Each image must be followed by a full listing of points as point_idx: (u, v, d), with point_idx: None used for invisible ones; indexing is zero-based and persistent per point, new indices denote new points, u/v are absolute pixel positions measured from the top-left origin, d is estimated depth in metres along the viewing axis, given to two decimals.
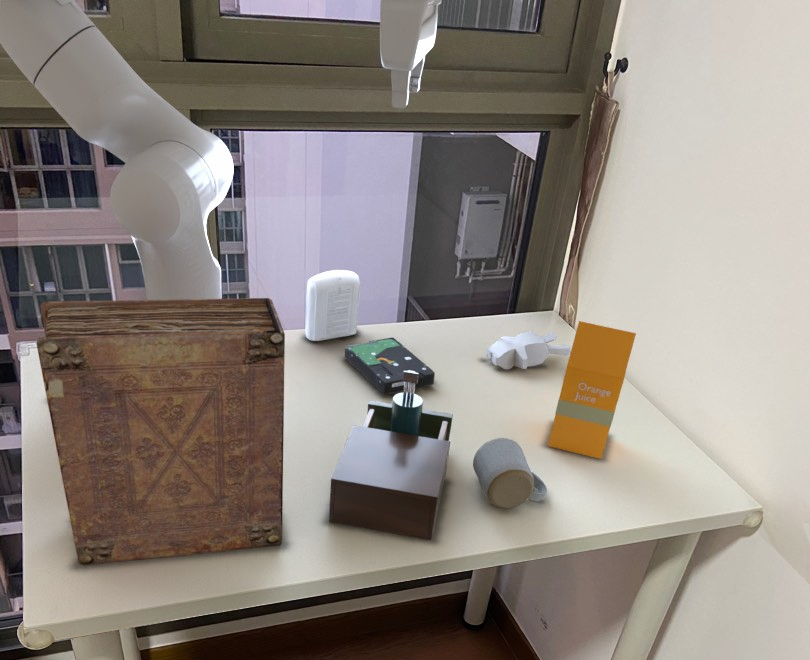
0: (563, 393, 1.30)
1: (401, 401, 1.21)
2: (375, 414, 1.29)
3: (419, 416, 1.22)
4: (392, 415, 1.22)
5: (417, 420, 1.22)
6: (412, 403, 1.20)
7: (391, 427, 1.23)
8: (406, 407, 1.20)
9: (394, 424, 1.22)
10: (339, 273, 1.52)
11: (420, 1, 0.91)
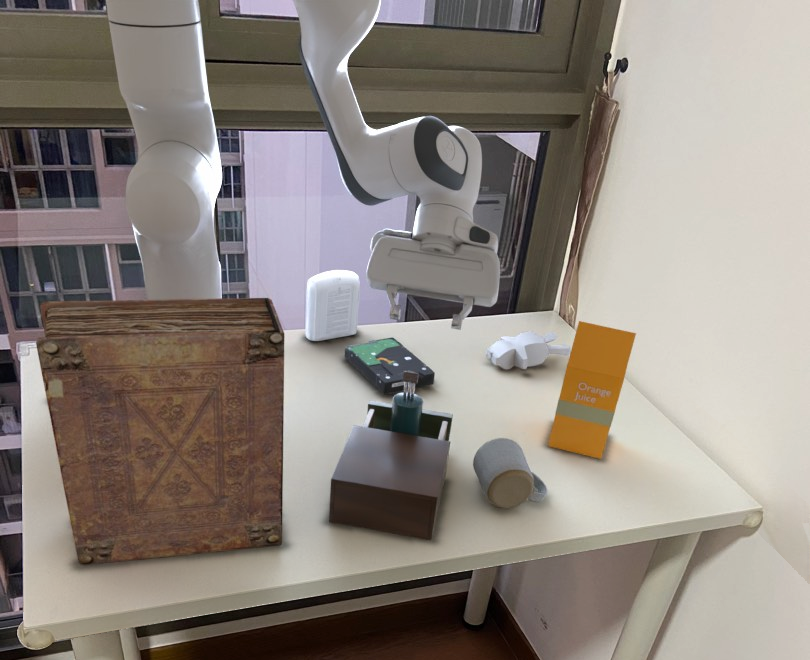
0: (563, 393, 1.30)
1: (401, 401, 1.21)
2: (375, 414, 1.29)
3: (419, 416, 1.22)
4: (392, 415, 1.22)
5: (417, 420, 1.22)
6: (412, 403, 1.20)
7: (391, 427, 1.23)
8: (406, 407, 1.20)
9: (394, 424, 1.22)
10: (339, 273, 1.52)
11: None
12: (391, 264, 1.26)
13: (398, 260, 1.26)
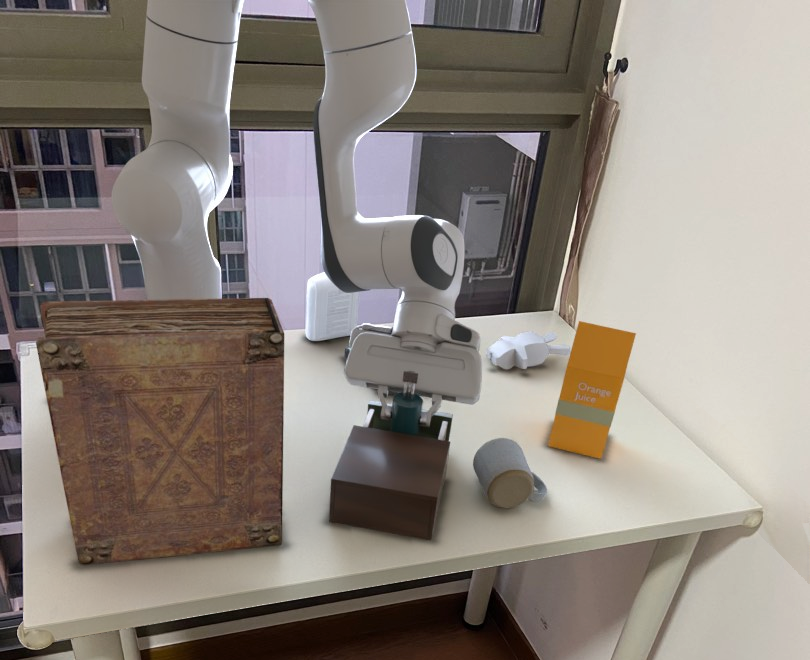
0: (563, 393, 1.30)
1: (401, 401, 1.21)
2: (375, 414, 1.29)
3: (419, 416, 1.22)
4: (392, 415, 1.22)
5: (417, 419, 1.22)
6: (412, 403, 1.20)
7: (391, 427, 1.23)
8: (406, 407, 1.20)
9: (394, 423, 1.22)
10: None
11: None
12: (370, 362, 1.22)
13: (377, 358, 1.22)
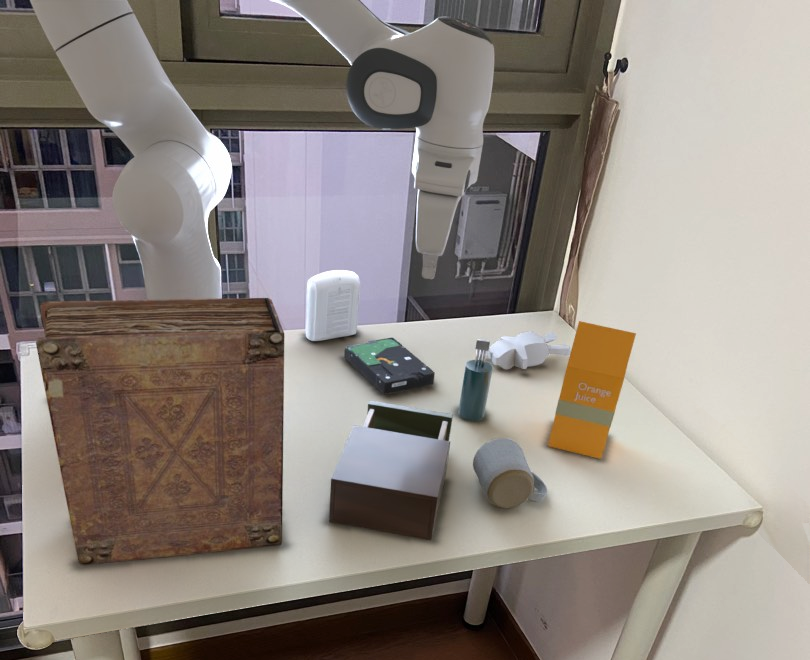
0: (563, 393, 1.30)
1: (473, 367, 1.35)
2: (375, 414, 1.29)
3: (489, 380, 1.36)
4: (464, 380, 1.36)
5: (487, 384, 1.36)
6: (483, 369, 1.35)
7: (463, 391, 1.38)
8: (478, 372, 1.34)
9: (466, 387, 1.37)
10: (339, 273, 1.52)
11: (452, 203, 1.06)
12: None
13: None
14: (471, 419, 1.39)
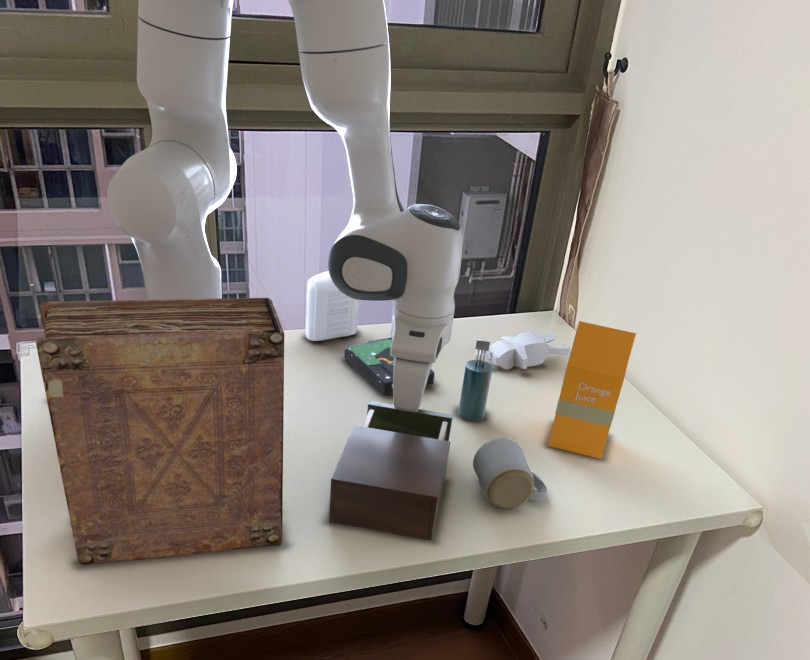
0: (563, 393, 1.30)
1: (473, 367, 1.35)
2: (375, 414, 1.29)
3: (489, 380, 1.36)
4: (464, 380, 1.36)
5: (487, 384, 1.36)
6: (483, 369, 1.35)
7: (463, 391, 1.38)
8: (478, 372, 1.34)
9: (466, 387, 1.37)
10: None
11: (424, 369, 1.16)
12: None
13: None
14: (471, 419, 1.39)
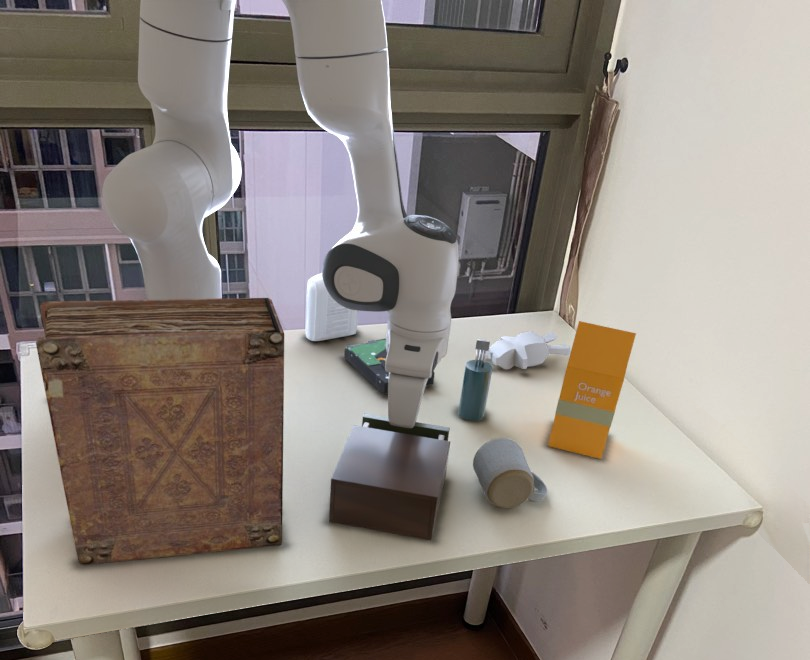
0: (563, 393, 1.30)
1: (473, 367, 1.35)
2: (370, 427, 1.26)
3: (489, 380, 1.36)
4: (464, 380, 1.36)
5: (487, 384, 1.36)
6: (483, 369, 1.35)
7: (463, 391, 1.38)
8: (478, 372, 1.34)
9: (466, 387, 1.37)
10: None
11: (420, 384, 1.13)
12: None
13: None
14: (471, 419, 1.39)
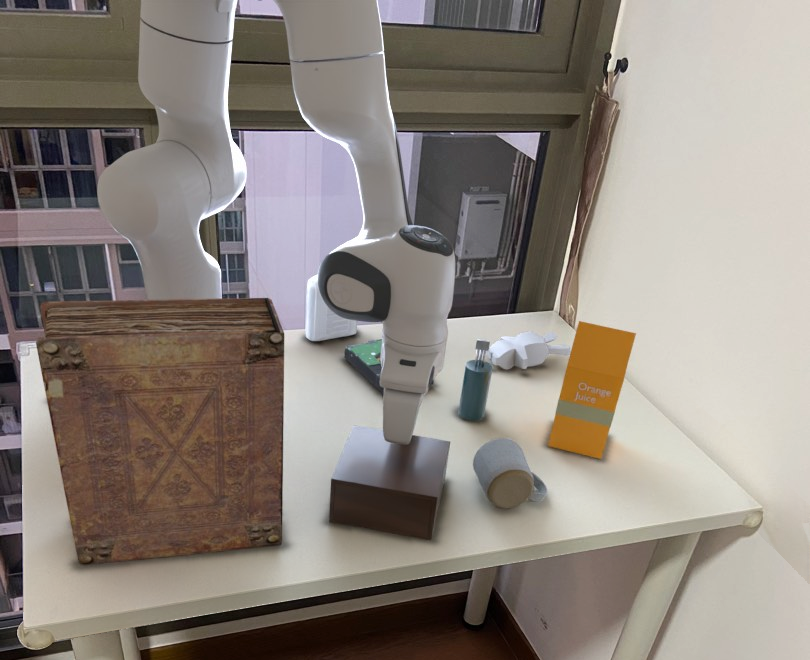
0: (563, 393, 1.30)
1: (473, 367, 1.35)
2: None
3: (489, 380, 1.36)
4: (464, 380, 1.36)
5: (487, 384, 1.36)
6: (483, 369, 1.35)
7: (463, 391, 1.38)
8: (478, 372, 1.34)
9: (466, 387, 1.37)
10: None
11: (416, 400, 1.10)
12: None
13: None
14: (471, 419, 1.39)
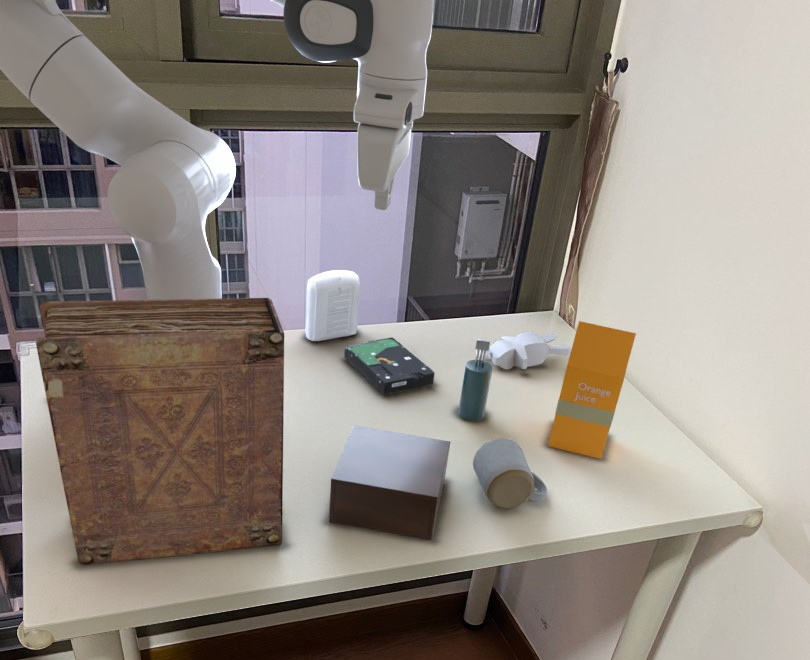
0: (563, 393, 1.30)
1: (473, 367, 1.35)
2: None
3: (489, 380, 1.36)
4: (464, 380, 1.36)
5: (487, 384, 1.36)
6: (483, 369, 1.35)
7: (463, 391, 1.38)
8: (478, 372, 1.34)
9: (466, 387, 1.37)
10: (339, 273, 1.52)
11: (392, 135, 1.04)
12: None
13: None
14: (471, 419, 1.39)
